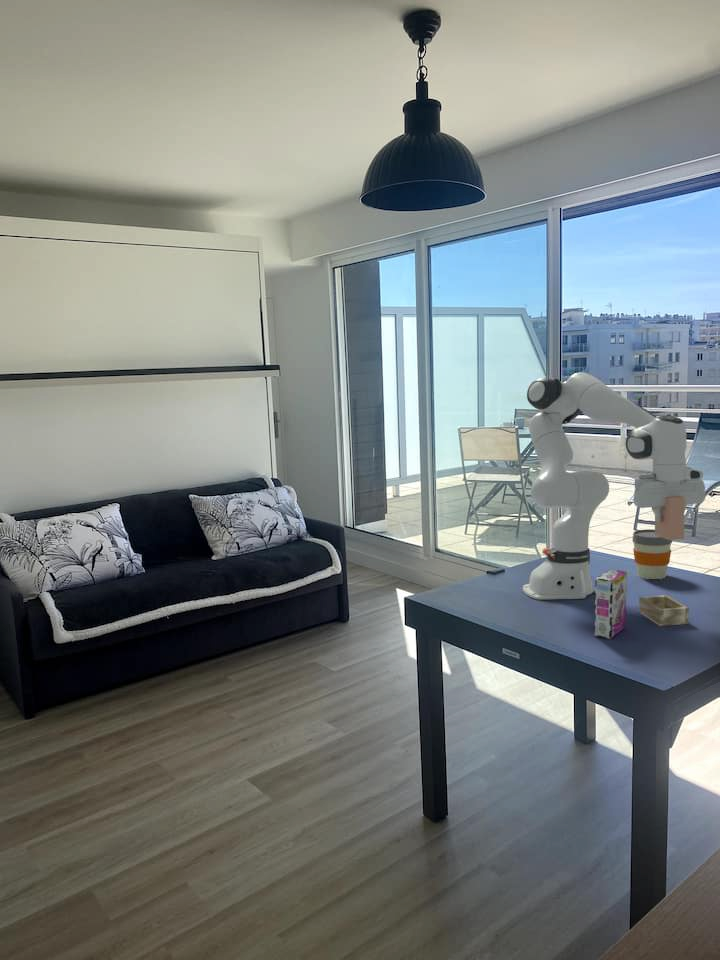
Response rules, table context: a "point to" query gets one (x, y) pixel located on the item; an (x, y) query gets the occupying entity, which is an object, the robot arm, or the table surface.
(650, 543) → the reusable coffee cup
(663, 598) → the slot holder
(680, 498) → the peach block
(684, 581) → the table surface
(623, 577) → the candy bar box
